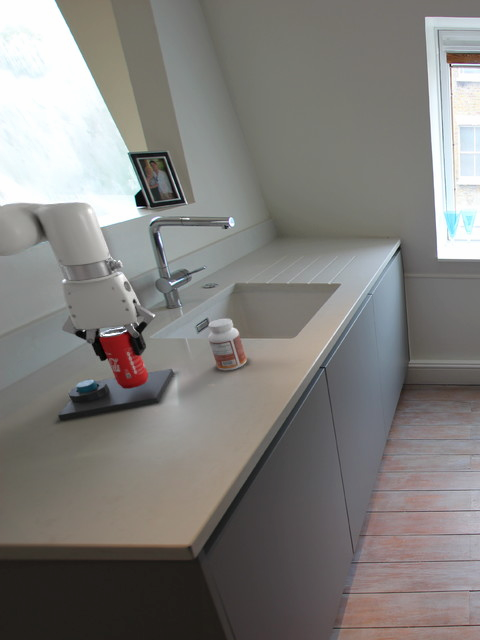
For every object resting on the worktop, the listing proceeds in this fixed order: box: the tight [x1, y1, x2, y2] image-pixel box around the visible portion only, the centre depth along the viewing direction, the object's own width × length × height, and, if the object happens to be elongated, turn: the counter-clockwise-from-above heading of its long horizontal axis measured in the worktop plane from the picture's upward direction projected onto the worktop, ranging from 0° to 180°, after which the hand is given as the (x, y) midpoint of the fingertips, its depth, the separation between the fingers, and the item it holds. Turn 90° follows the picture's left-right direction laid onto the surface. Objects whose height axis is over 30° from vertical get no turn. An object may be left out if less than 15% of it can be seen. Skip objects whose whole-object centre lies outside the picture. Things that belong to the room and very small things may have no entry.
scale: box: [58, 368, 175, 422], centre depth 93 cm, size 16×13×3 cm
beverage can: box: [99, 326, 149, 389], centre depth 91 cm, size 5×5×12 cm
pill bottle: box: [207, 318, 247, 371], centre depth 103 cm, size 6×6×11 cm
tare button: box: [75, 379, 98, 393], centre depth 91 cm, size 3×3×2 cm
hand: (123, 354), depth 91 cm, fingers closed on beverage can, 5 cm apart
